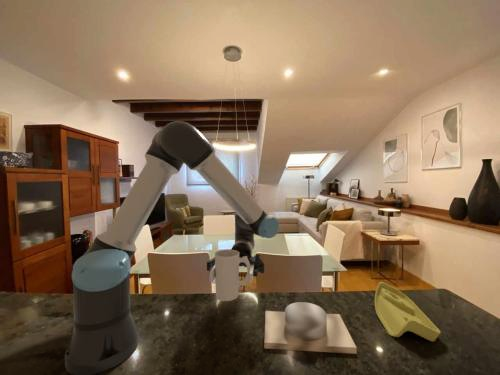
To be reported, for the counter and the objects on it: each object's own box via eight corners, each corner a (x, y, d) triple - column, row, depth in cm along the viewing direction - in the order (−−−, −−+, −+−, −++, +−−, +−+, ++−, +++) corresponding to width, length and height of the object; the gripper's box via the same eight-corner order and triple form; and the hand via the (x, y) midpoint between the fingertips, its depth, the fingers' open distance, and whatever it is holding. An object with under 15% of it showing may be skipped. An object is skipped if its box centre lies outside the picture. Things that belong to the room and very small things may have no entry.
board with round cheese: (264, 348, 57) (264, 326, 57) (265, 315, 71) (265, 298, 71) (356, 353, 55) (356, 331, 55) (339, 319, 69) (339, 301, 69)
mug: (213, 302, 61) (214, 257, 61) (215, 290, 68) (215, 249, 68) (251, 300, 62) (252, 256, 62) (249, 289, 69) (250, 249, 68)
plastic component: (445, 336, 58) (407, 317, 59) (429, 359, 59) (392, 340, 60) (404, 292, 78) (376, 279, 79) (393, 310, 79) (365, 296, 80)
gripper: (272, 264, 82) (273, 294, 60) (210, 261, 84) (189, 290, 62) (272, 243, 82) (273, 265, 60) (210, 241, 84) (189, 262, 62)
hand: (230, 277), depth 61 cm, fingers closed on mug, 10 cm apart
